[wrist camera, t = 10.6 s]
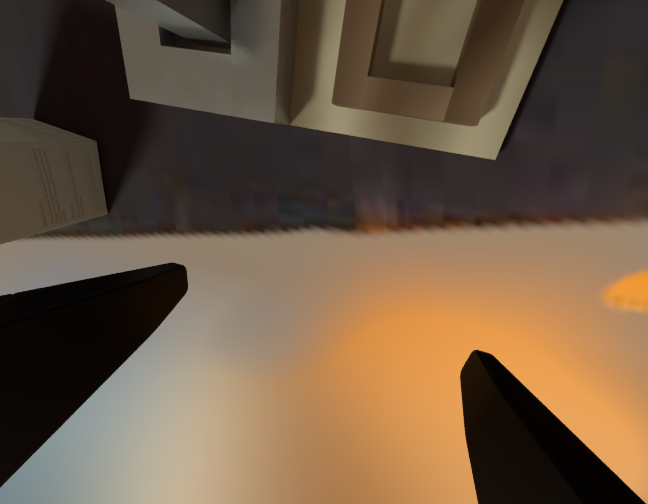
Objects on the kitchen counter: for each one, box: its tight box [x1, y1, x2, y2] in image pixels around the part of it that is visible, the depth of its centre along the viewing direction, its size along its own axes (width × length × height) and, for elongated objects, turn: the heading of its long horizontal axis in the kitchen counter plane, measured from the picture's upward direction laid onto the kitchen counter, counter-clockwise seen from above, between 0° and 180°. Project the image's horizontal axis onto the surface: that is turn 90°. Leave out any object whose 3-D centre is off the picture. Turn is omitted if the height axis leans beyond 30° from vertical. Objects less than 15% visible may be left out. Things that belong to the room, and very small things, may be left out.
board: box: [190, 0, 563, 160], centre depth 15 cm, size 24×12×1 cm, turn 81°
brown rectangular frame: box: [332, 0, 525, 127], centre depth 13 cm, size 8×9×2 cm
